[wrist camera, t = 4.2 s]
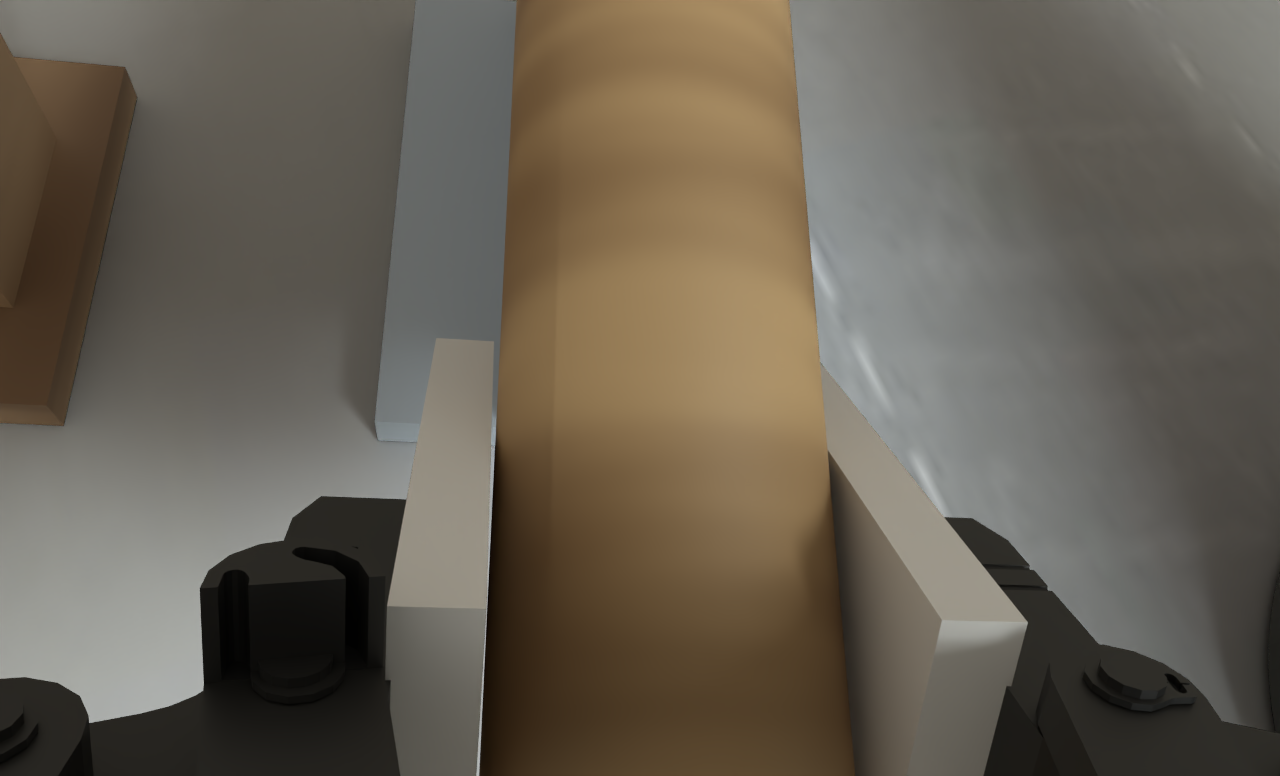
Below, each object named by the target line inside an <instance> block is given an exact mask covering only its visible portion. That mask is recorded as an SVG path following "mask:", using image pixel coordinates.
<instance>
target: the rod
mask: <svg viewBox="0 0 1280 776" xmlns="http://www.w3.org/2000/svg"><path fill="white" fill-rule="evenodd" d="M479 776H855V767H854V755H853V743H852V732H851V720H850V708H849V696H848V685H847V673H846V661H845V649H844V638H843V626H842V614H841V603H840V591H839V579H838V567H837V556H836V544H835V532H834V520H833V509H832V497H831V485H830V474H829V462H828V450H827V438H826V427H825V415H824V403H823V392H822V380H821V368H820V356H819V345H818V333H817V321H816V309H815V298H814V286H813V274H812V263H811V251H810V239H809V227H808V216H807V204H806V192H805V180H804V169H803V157H802V145H801V134H800V122H799V110H798V98H797V87H796V75H795V63H794V51H793V40H792V28H791V16H790V5H789V0H517V3H516V24H515V45H514V65H513V86H512V107H511V128H510V149H509V169H508V190H507V211H506V232H505V253H504V273H503V294H502V315H501V336H500V357H499V377H498V398H497V419H496V440H495V461H494V482H493V502H492V523H491V544H490V565H489V586H488V606H487V627H486V648H485V669H484V690H483V710H482V731H481V752H480V773H479Z"/></svg>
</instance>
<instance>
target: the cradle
mask: <svg viewBox="0 0 1280 776" xmlns="http://www.w3.org/2000/svg"><path fill="white" fill-rule="evenodd" d="M516 3H517V1H508V0H416V2H415V13H414V23H413V33H412V43H411V54H410V64H409V74H408V85H407V95H406V105H405V115H404V126H403V136H402V146H401V156H400V167H399V177H398V187H397V197H396V208H395V218H394V228H393V238H392V249H391V259H390V269H389V280H388V290H387V300H386V310H385V321H384V331H383V341H382V351H381V362H380V372H379V382H378V392H377V403H376V413H375V427H376V432H377V438H378V440H381V441H403V442H417V440H418V435H419V429H420V424H421V418H422V413H423V408H424V402H425V397H426V391H427V386H428V380H429V375H430V370H431V364H432V359H433V353H434V348H435V342H436V338H445V339H462V340H479V341H494V357H493V392H492V428H491V446H495V440H496V419H497V398H498V377H499V357H500V336H501V315H502V294H503V273H504V253H505V232H506V211H507V190H508V169H509V149H510V128H511V107H512V86H513V65H514V45H515V24H516Z"/></svg>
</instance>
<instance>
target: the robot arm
mask: <svg viewBox="0 0 1280 776" xmlns="http://www.w3.org/2000/svg"><path fill="white" fill-rule="evenodd" d="M493 357H494V341H479V340H462V339H445V338H436V342H435V348H434V353H433V359H432V364H431V370H430V375H429V380H428V386H427V391H426V397H425V402H424V408H423V413H422V418H421V424H420V429H419V435H418V440H417V446H416V451H415V457H414V462H413V467H412V473H411V478H410V484H409V489H408V495H407V500H404V499H378V498H352V497H327V496H321V497H320V498H318V499H317V500H316V501H314V502H313V503H312V504H310V505H309V506H308V507H306V508H305V509H304V510H302V511H301V512H300V513H299V514H297V515H296V516H295V517H293V518H292V521H291V523H290V526H289V528H288V531H287V534H286V536H285V539H284V541H279V542H272V543H265V544H259V545H256V546H254V547H251V548H248V549H245V550H243V551H240V552H237V553H234V554H232V555H229V556H228V557H227V558H225V559H224V560H223V561H221V562H220V563H218V564H217V565H216V566H214V567H213V568H211V569H210V570H209V571H208V573H207V575H206V577H205V579H204V581H203V583H202V585H201V587H200V603H201V626H202V649H203V673H204V689H203V691H202V692H201V693H199V694H197V695H196V696H194V697H191V698H189V699H186V700H184V701H181V702H179V703H177V704H174V705H172V706H169V707H165V708H161V709H157V710H153V711H149V712H146V713H142V714H137V715H131V716H126V717H120V718H115V719H110V720H104V721H99V722H94V723H89V717H88V714H87V711H86V709H85V707H84V705H83V702H82V700H81V698H80V696H79V695H77V694H75V693H74V692H72V691H70V690H69V689H67V688H65V687H64V686H62V685H60V684H58V683H55V682H49V681H43V680H37V679H32V678H26V677H23V678H7V679H0V776H476V770H477V754H478V737H479V721H480V705H481V688H482V672H483V656H484V639H485V623H486V604H487V569H488V533H489V498H490V463H491V428H492V392H493ZM820 368H821V380H822V392H823V403H824V415H825V427H826V438H827V450H828V462H829V474H830V485H831V497H832V509H833V520H834V532H835V544H836V556H837V567H838V579H839V591H840V603H841V614H842V626H843V638H844V649H845V661H846V673H847V685H848V696H849V708H850V720H851V732H852V743H853V755H854V767H855V776H1280V573H1279V577H1278V582H1277V586H1276V590H1275V594H1274V599H1273V606H1272V613H1271V619H1270V632H1269V683H1270V696H1271V704H1272V712H1273V719H1274V726H1275V731H1276V733H1274V732H1270V731H1265V730H1260V729H1256V728H1251V727H1246V726H1242V725H1237V724H1232V723H1228V722H1223V721H1221V719H1220V718H1219V716H1218V715H1217V713H1216V712H1215V710H1214V709H1213V707H1212V706H1211V704H1210V703H1209V702H1208V700H1207V699H1206V697H1205V696H1204V695H1203V694H1202V693H1201V692H1200V691H1199V690H1198V689H1197V688H1196V687H1195V686H1194V685H1193V684H1192V683H1191V682H1190V681H1189V680H1188V679H1187V678H1185V677H1184V676H1182V675H1181V674H1179V673H1177V672H1176V671H1174V670H1172V669H1171V668H1169V667H1168V666H1166V665H1165V664H1163V663H1160V662H1158V661H1156V660H1153V659H1151V658H1148V657H1146V656H1143V655H1141V654H1138V653H1136V652H1134V651H1129V650H1125V649H1120V648H1116V647H1111V646H1107V645H1099V644H1098V643H1097V642H1096V641H1095V639H1094V638H1093V637H1092V636H1091V635H1090V634H1089V633H1088V631H1087V630H1086V629H1085V628H1084V627H1083V626H1082V625H1081V623H1080V622H1079V621H1078V620H1077V619H1076V618H1075V617H1074V616H1073V614H1072V613H1071V612H1070V611H1069V610H1068V609H1067V608H1066V606H1065V605H1064V604H1063V603H1062V602H1061V601H1060V600H1059V598H1058V597H1057V596H1056V595H1055V594H1054V593H1053V592H1052V591H1048V590H1047V585H1046V584H1045V582H1044V581H1043V580H1042V579H1041V578H1040V577H1039V576H1038V574H1037V573H1036V572H1035V571H1034V570H1030V569H1029V566H1030V565H1029V564H1028V563H1027V562H1026V561H1025V560H1024V558H1023V557H1022V556H1021V555H1020V554H1019V553H1018V552H1017V551H1016V549H1015V548H1014V547H1013V546H1012V545H1011V544H1010V543H1009V541H1008V540H1006V539H1004V538H1003V537H1001V536H1000V535H998V534H996V533H995V532H993V531H992V530H990V529H988V528H987V527H985V526H984V525H982V524H980V523H979V522H977V521H976V520H974V519H972V518H949V517H943V515H942V514H941V513H940V512H939V510H938V509H937V508H936V507H935V505H934V504H933V503H932V502H931V500H930V499H929V498H928V497H927V495H926V494H925V493H924V492H923V490H922V489H921V488H920V487H919V485H918V484H917V483H916V482H915V480H914V479H913V478H912V477H911V475H910V474H909V473H908V471H907V470H906V469H905V468H904V466H903V465H902V464H901V463H900V461H899V460H898V459H897V458H896V456H895V455H894V454H893V453H892V451H891V450H890V449H889V448H888V446H887V445H886V444H885V443H884V441H883V440H882V439H881V438H880V436H879V435H878V434H877V433H876V431H875V430H874V429H873V428H872V426H871V425H870V424H869V423H868V421H867V420H866V419H865V418H864V416H863V415H862V414H861V413H860V411H859V410H858V409H857V408H856V406H855V405H854V404H853V403H852V401H851V400H850V399H849V398H848V396H847V395H846V394H845V393H844V391H843V390H842V389H841V388H840V386H839V385H838V384H837V383H836V381H835V380H834V379H833V378H832V376H831V375H830V374H829V373H828V371H827V370H826V369H825V368H824V366H823V365H822V364H821V362H820Z"/></svg>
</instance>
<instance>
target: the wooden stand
mask: <svg viewBox="0 0 1280 776" xmlns="http://www.w3.org/2000/svg"><path fill="white" fill-rule="evenodd" d="M136 99H137V96H136V93H135V91H134V88H133V86H132V83H131V81H130V78H129V76H128V73H127V71H126V68H125V67H118V66H107V65H96V64H85V63H74V62H63V61H52V60H41V59H30V58H19V57H13V56H12V54H11V52H10V50H9V48H8V46H7V44H6V42H5V41H4V39H3V37H2V35H1V33H0V423H14V424H36V425H57V426H64V422H65V417H66V413H67V409H68V404H69V400H70V395H71V391H72V386H73V382H74V377H75V373H76V368H77V364H78V359H79V355H80V350H81V346H82V341H83V337H84V332H85V328H86V323H87V319H88V314H89V310H90V305H91V301H92V297H93V292H94V288H95V283H96V279H97V274H98V270H99V265H100V261H101V256H102V252H103V247H104V243H105V238H106V234H107V229H108V225H109V220H110V216H111V211H112V207H113V202H114V198H115V193H116V189H117V185H118V180H119V176H120V171H121V167H122V162H123V158H124V153H125V149H126V144H127V140H128V135H129V131H130V126H131V122H132V117H133V113H134V108H135V104H136Z"/></svg>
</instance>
